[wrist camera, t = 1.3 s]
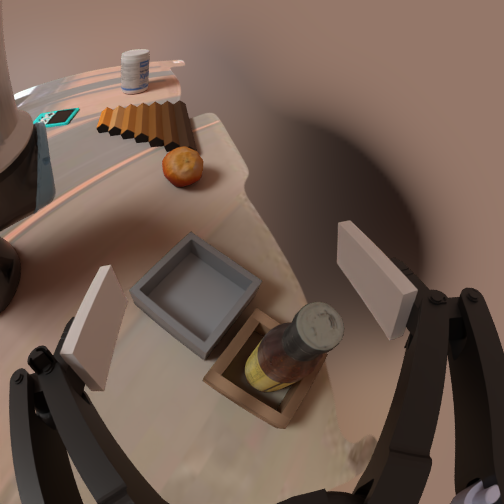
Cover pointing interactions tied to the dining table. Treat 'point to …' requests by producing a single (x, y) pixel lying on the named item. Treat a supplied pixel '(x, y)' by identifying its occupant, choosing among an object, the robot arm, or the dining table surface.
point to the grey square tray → (195, 293)
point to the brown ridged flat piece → (150, 124)
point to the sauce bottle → (294, 348)
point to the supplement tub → (134, 71)
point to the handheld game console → (56, 117)
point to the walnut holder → (242, 398)
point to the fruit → (182, 166)
